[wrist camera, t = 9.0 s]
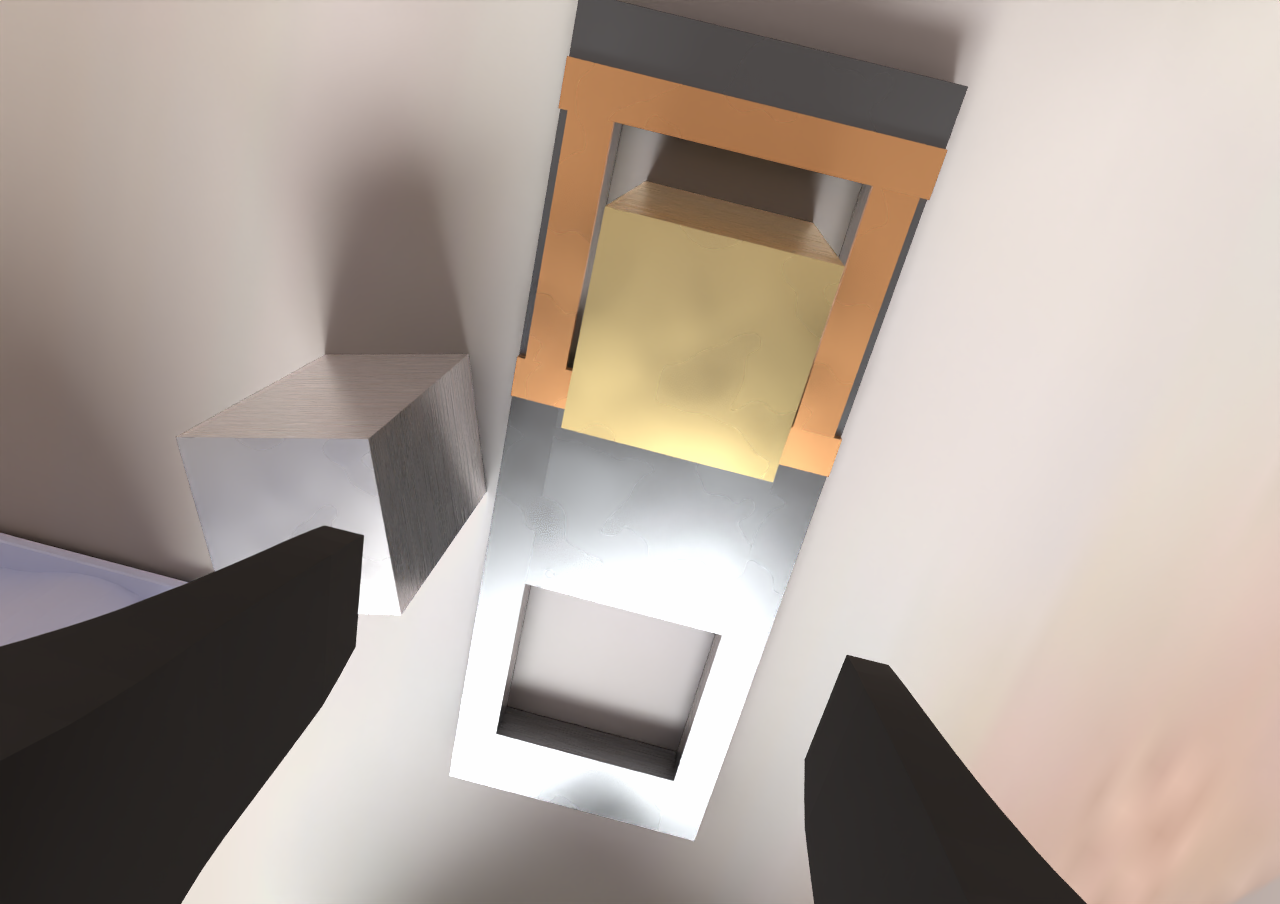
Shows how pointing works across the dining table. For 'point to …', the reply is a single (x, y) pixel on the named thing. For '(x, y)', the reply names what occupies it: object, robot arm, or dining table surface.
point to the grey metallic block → (345, 465)
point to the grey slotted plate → (657, 483)
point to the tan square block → (700, 328)
